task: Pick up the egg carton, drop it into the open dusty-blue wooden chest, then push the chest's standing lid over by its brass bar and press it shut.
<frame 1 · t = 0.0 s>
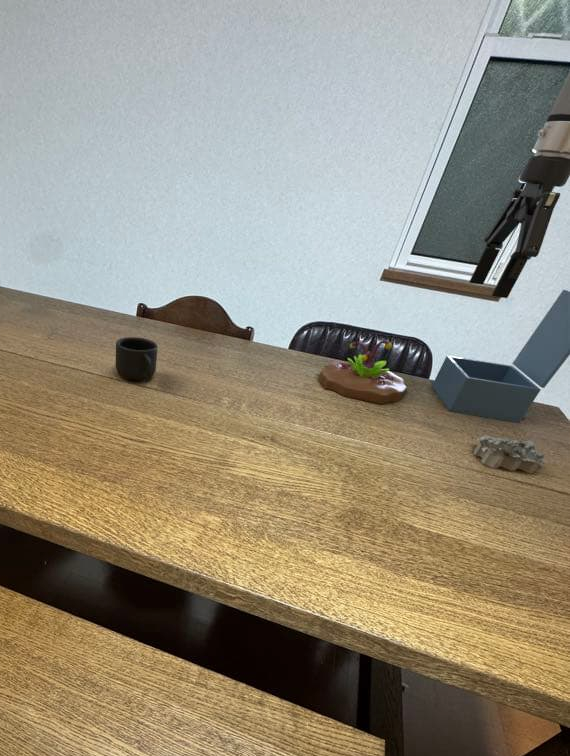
hand: (486, 290, 94), 24 cm above the table, tool pointing down, fingers open, 13 cm apart
egg carton: (502, 462, 87), on the table
chest: (472, 403, 109), on the table
plant: (360, 387, 111), on the table
mug: (137, 379, 101), on the table
lid: (563, 340, 98), point 16 cm above the table, hinge at 95.0°
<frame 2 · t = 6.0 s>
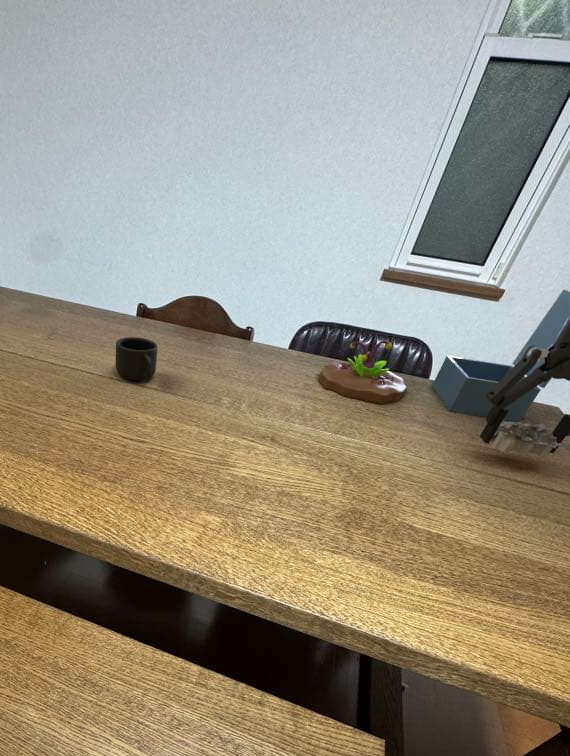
hand: (515, 444, 85), 4 cm above the table, tool pointing down, fingers closed on egg carton, 11 cm apart
egg carton: (513, 446, 85), point 3 cm above the table, touching gripper
everything else where it was.
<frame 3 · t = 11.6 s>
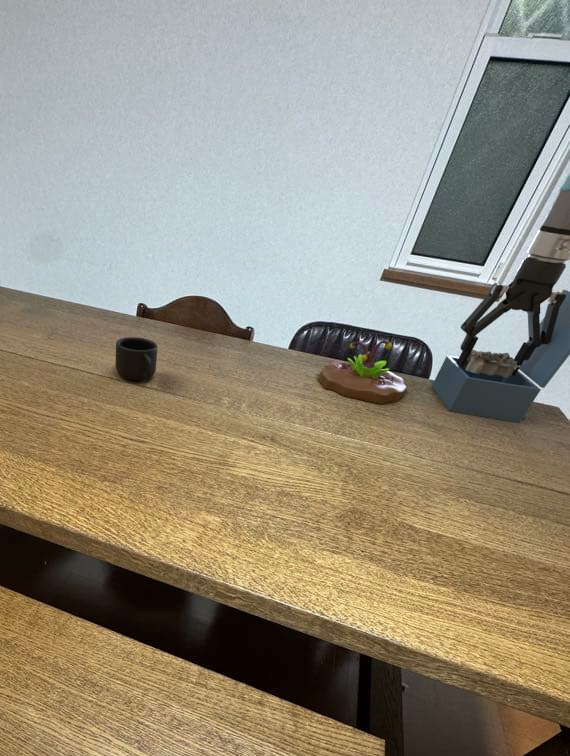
hand: (484, 369, 104), 8 cm above the table, tool pointing down, fingers closed on egg carton, 11 cm apart
egg carton: (483, 371, 105), point 8 cm above the table, touching gripper
everything else where it was.
when the fingers open (8 cm above the table, at t = 15.9 s): egg carton drops 7 cm, resting on chest.
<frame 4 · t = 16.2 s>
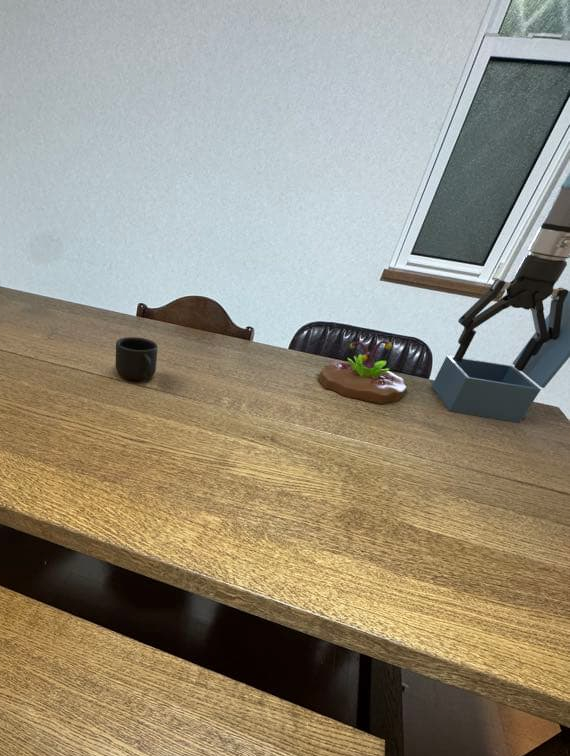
hand: (487, 364, 104), 9 cm above the table, tool pointing down, fingers open, 13 cm apart
egg carton: (467, 399, 109), point 1 cm above the table, touching chest
lid: (564, 341, 98), point 16 cm above the table, hinge at 97.5°, touching gripper
everything else where it was.
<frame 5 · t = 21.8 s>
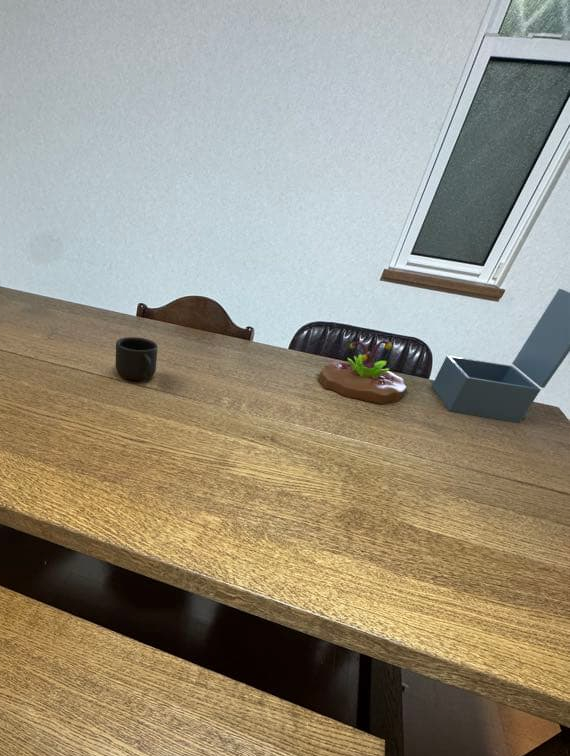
lid: (561, 339, 98), point 16 cm above the table, hinge at 91.6°, touching gripper
everything else where it was.
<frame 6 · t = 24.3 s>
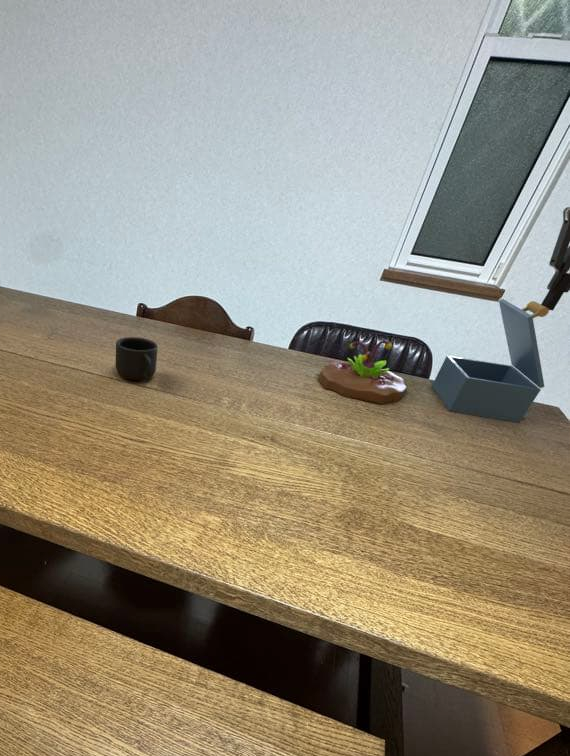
hand: (546, 308, 95), 22 cm above the table, tool pointing down, fingers closed
lid: (532, 337, 99), point 16 cm above the table, hinge at 51.4°, touching gripper
everything else where it was.
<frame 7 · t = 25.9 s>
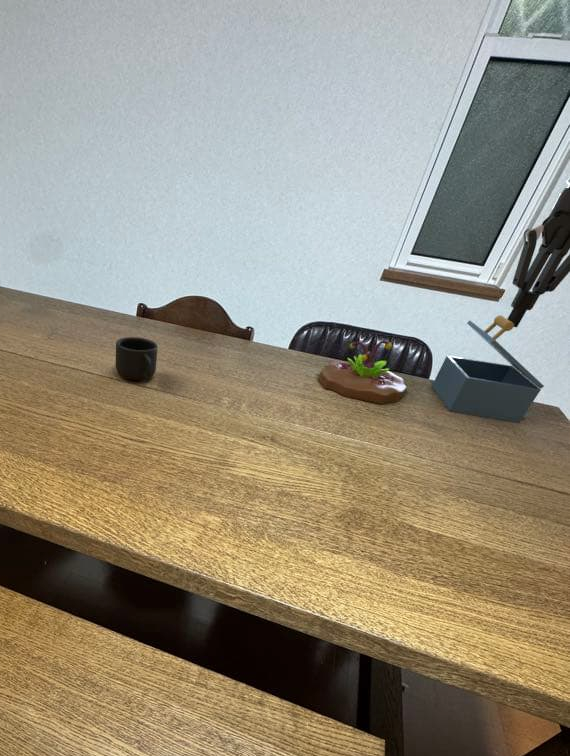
hand: (510, 325, 98), 18 cm above the table, tool pointing down, fingers closed
lid: (513, 345, 100), point 14 cm above the table, hinge at 27.2°, touching gripper
everything else where it was.
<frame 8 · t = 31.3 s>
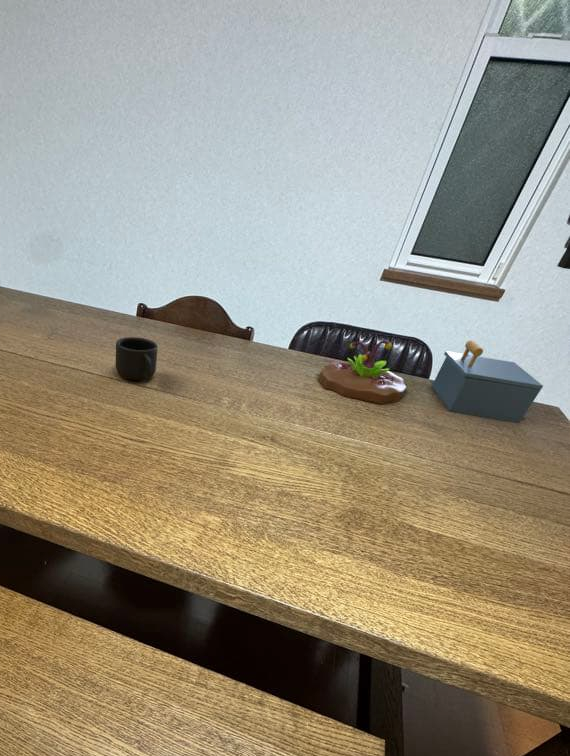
hand: (563, 267, 97), 28 cm above the table, tool pointing down, fingers closed
lid: (495, 359, 103), point 10 cm above the table, hinge at 0.5°
everything else where it was.
at the end: egg carton inside the target area in the chest (1.5 cm from its centre), point 0.6 cm above the chest's base; lid at +0° (first picture: +95°) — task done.
